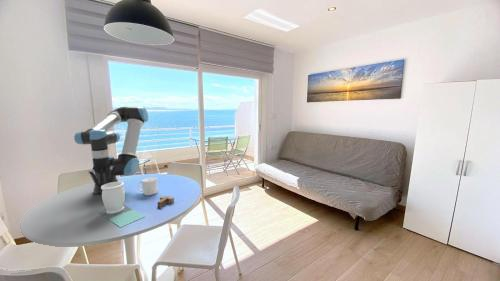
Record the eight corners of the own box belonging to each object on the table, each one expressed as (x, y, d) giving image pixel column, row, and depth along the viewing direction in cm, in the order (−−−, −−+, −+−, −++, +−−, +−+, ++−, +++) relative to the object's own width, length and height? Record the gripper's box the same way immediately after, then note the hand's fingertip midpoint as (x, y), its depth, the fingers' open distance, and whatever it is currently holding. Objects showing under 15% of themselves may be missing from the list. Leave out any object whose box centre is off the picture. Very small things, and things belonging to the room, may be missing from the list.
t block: (153, 206, 117) (153, 201, 117) (162, 200, 125) (162, 195, 124) (165, 208, 115) (165, 203, 115) (174, 201, 123) (173, 197, 123)
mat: (98, 212, 111) (98, 211, 111) (122, 203, 120) (122, 203, 120) (120, 227, 96) (120, 227, 96) (145, 216, 106) (145, 216, 106)
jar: (111, 206, 117) (108, 181, 115) (129, 205, 118) (127, 180, 116) (99, 215, 106) (96, 188, 104) (119, 214, 107) (117, 188, 105)
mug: (160, 190, 141) (159, 177, 139) (153, 195, 132) (152, 182, 130) (144, 189, 142) (142, 176, 140) (136, 195, 133) (134, 181, 131)
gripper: (89, 160, 107) (94, 202, 110) (116, 155, 117) (120, 194, 121) (84, 158, 111) (89, 198, 115) (110, 154, 122) (114, 191, 125)
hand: (105, 196), depth 118 cm, fingers closed
